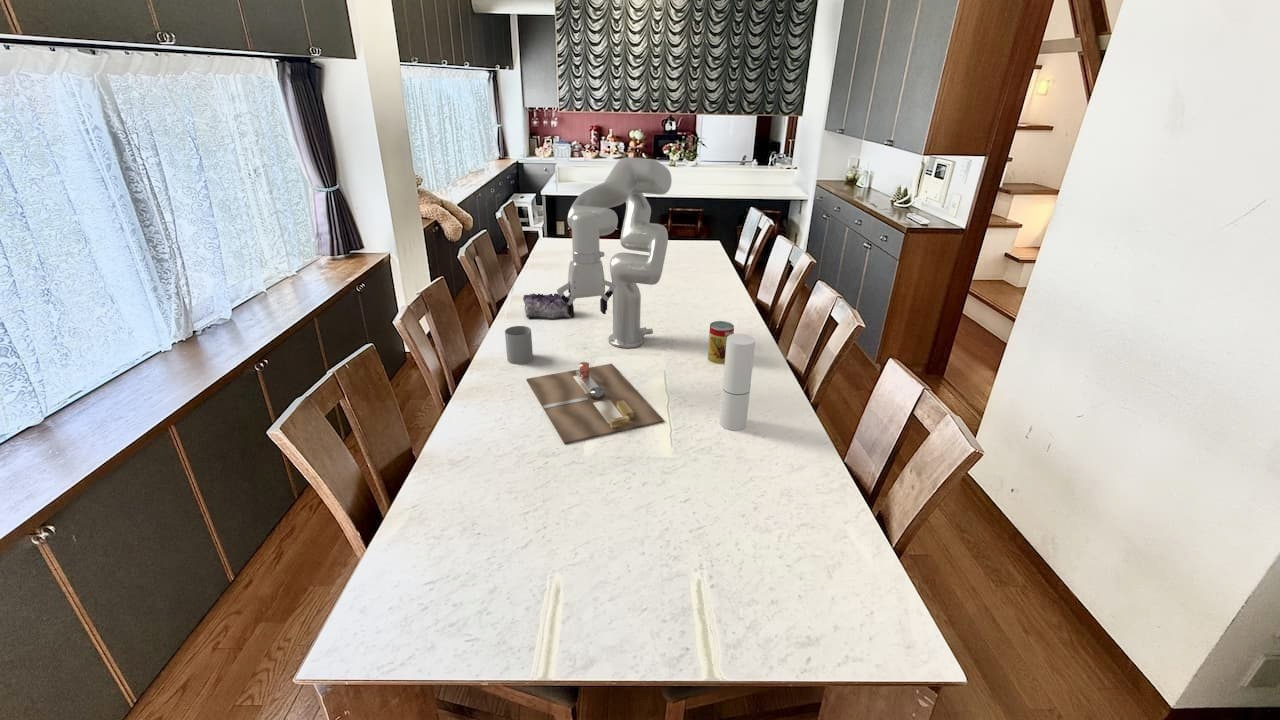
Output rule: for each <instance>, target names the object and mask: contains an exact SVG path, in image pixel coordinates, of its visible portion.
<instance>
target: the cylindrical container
mask: <svg viewBox="0 0 1280 720" xmlns="http://www.w3.org/2000/svg"><path fill="white" fill-rule="evenodd" d="M755 346H756V338H755V337H753V336H752V335H750V334H747V333H734V334H731V335H729V336H728V337H727V343H726V354H725V364H724V366H723V367H724V368H723V379H722V380H723V381H722V389H721V392H722V393H721V402H720V414H719V415H720V416H719V426H721V427H722V428H723V429H726V430H728V431H741V430H743V429H745V428H746V427H747V421H748V413H749V412H748V411H749V404H750V403H749V401H750V392H751V385H752V384H751V382H752V375H753V367H754V366H753V365H754V357H755Z"/></svg>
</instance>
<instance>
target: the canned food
mask: <svg viewBox="0 0 1280 720" xmlns="http://www.w3.org/2000/svg"><path fill="white" fill-rule="evenodd" d="M708 331H709V334H708V344H707V345H708V346H707V349H708V350H707V360H708V361H709V362H710V363H713V364H717V365H718V364H719V365H725V354H726V343H727V337H728V336H729V335H731V334H735V333H734V332H735V325H734V324H733V323H732V322H728V321H724V320H716V321H713V322H711V323H710V324H709V330H708Z"/></svg>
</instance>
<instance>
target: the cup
mask: <svg viewBox="0 0 1280 720" xmlns="http://www.w3.org/2000/svg"><path fill="white" fill-rule="evenodd" d="M504 335H505V336H504V337H505V339H504V340H505V347H506V348H505V350H506V359H507V363H510V364H512V365H525V364H528V363H530V362H532V361H533V360H534V355H533V353H534V352H533V340H532V339H533V336H532V329H531V327H528V326H525V325H514V326H510V327H506V329H505V330H504Z"/></svg>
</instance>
